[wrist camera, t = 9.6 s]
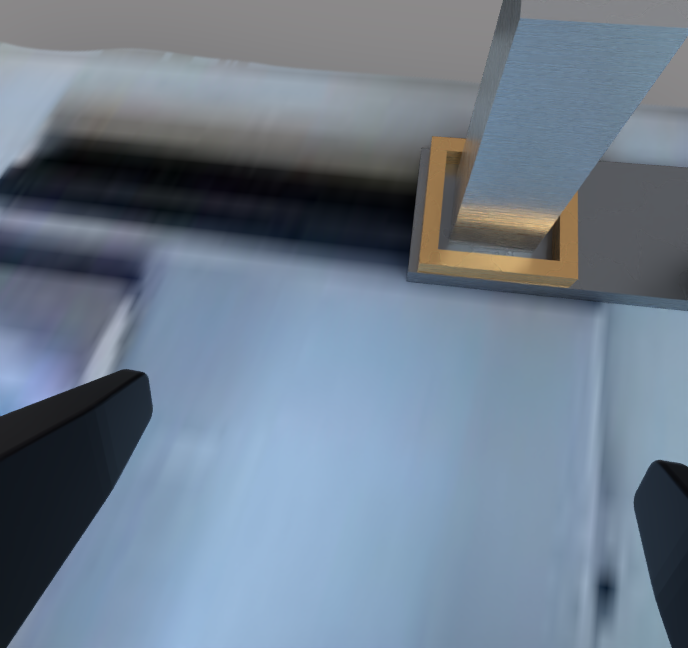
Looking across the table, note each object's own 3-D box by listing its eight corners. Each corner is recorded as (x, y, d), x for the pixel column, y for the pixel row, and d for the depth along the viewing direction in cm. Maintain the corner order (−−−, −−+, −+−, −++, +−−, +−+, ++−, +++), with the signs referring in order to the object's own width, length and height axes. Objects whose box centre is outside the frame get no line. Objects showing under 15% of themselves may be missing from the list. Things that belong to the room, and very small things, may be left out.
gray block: (534, 253, 22) (697, 28, 11) (448, 244, 23) (520, 18, 12) (537, 182, 24) (689, -88, 12) (456, 174, 24) (528, -93, 13)
